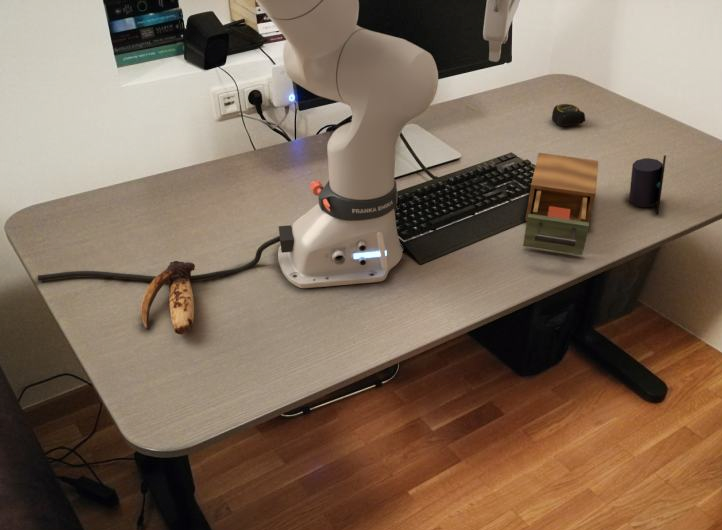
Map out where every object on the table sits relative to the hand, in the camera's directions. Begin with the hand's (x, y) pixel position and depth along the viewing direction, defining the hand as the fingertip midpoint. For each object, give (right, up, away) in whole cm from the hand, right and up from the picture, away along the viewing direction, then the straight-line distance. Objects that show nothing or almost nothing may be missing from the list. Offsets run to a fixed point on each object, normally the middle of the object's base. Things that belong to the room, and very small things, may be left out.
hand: (498, 51), depth 122 cm
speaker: (+32, -24, +19) cm, 44 cm away
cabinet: (+14, -25, +16) cm, 33 cm away
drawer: (+11, -33, +6) cm, 35 cm away
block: (+12, -31, +6) cm, 34 cm away
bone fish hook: (-55, -47, -10) cm, 73 cm away
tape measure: (+23, +2, +46) cm, 52 cm away
